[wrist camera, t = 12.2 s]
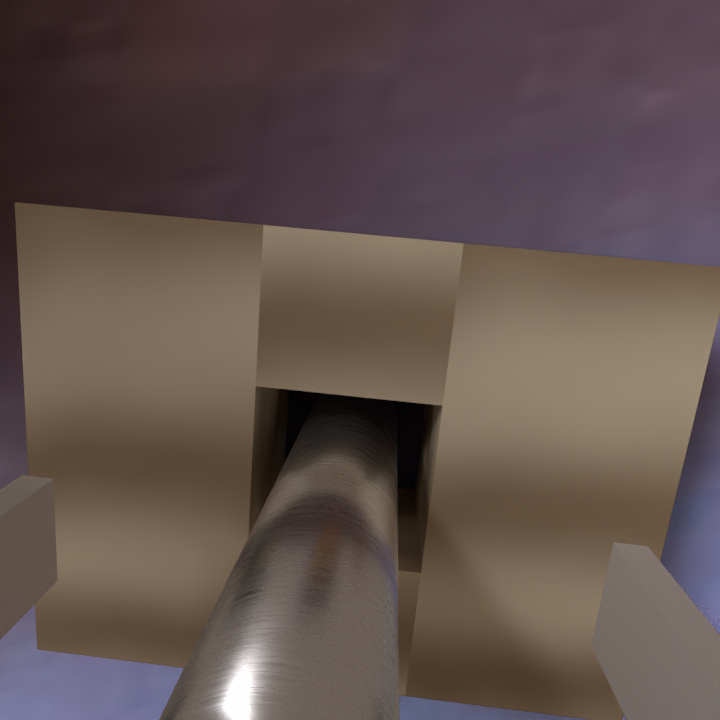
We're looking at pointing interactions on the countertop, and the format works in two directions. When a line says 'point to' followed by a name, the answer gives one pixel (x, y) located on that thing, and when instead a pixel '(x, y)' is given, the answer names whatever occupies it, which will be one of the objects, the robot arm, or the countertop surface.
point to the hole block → (360, 379)
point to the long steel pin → (311, 585)
